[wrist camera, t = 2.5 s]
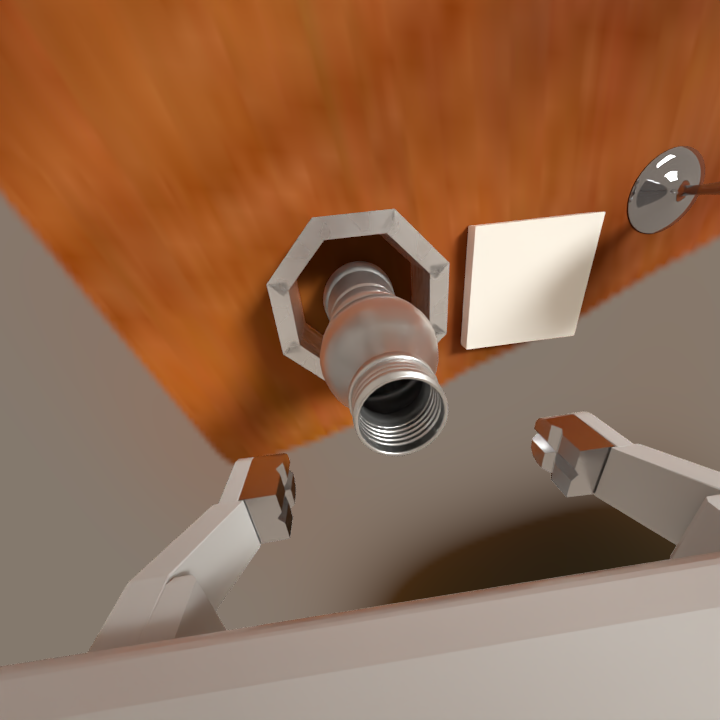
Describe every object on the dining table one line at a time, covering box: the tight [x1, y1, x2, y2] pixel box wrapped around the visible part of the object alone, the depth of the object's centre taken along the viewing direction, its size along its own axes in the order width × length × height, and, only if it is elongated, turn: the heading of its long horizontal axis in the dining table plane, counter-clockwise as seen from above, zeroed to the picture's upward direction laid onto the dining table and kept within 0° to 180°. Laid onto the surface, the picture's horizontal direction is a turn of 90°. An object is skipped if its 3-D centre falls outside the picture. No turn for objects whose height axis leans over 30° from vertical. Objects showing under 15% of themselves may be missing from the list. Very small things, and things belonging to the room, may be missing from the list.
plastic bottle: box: [320, 261, 448, 456], centre depth 20 cm, size 6×7×20 cm
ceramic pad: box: [461, 212, 605, 350], centre depth 29 cm, size 12×12×2 cm
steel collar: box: [267, 209, 449, 380], centre depth 26 cm, size 14×14×6 cm
